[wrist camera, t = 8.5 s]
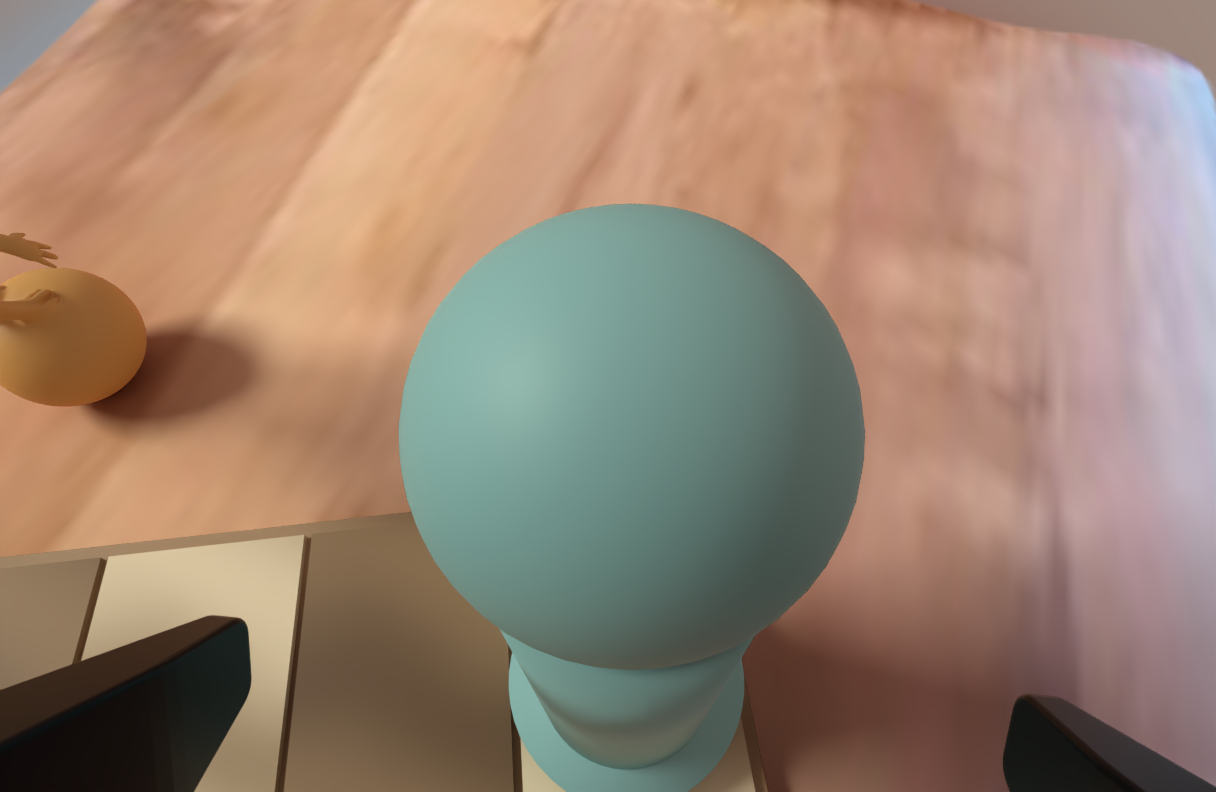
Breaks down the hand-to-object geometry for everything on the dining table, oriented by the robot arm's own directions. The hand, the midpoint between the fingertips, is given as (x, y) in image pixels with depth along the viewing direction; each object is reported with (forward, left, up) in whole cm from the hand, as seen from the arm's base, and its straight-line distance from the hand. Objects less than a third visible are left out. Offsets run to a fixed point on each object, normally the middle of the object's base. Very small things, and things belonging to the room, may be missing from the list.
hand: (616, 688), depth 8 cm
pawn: (+2, 0, -9) cm, 9 cm away
